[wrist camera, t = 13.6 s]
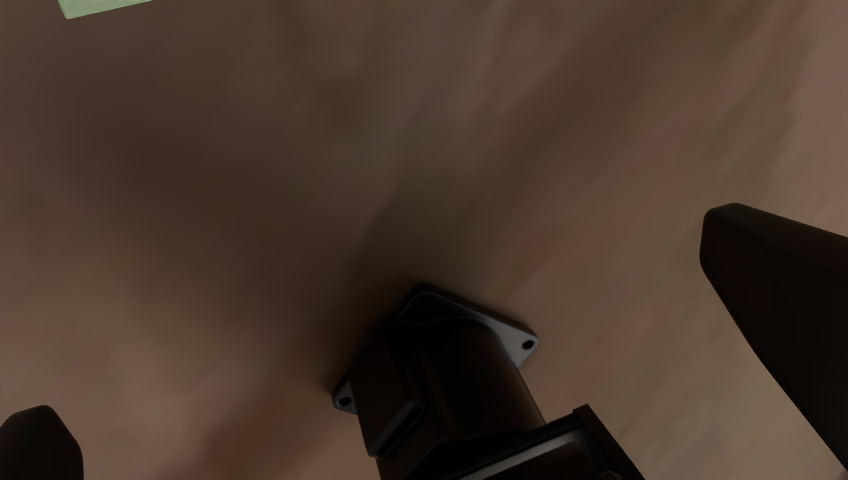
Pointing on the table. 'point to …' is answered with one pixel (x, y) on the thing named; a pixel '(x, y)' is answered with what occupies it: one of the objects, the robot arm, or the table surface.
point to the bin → (92, 6)
